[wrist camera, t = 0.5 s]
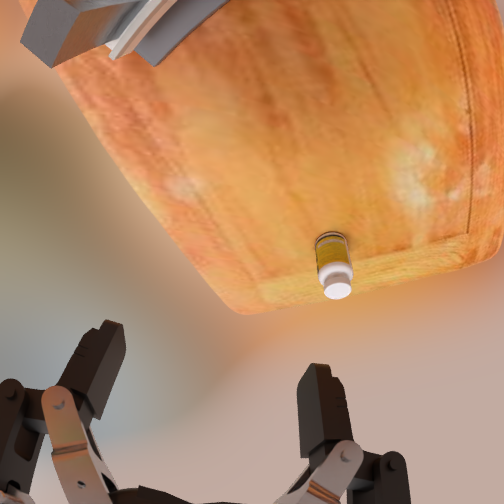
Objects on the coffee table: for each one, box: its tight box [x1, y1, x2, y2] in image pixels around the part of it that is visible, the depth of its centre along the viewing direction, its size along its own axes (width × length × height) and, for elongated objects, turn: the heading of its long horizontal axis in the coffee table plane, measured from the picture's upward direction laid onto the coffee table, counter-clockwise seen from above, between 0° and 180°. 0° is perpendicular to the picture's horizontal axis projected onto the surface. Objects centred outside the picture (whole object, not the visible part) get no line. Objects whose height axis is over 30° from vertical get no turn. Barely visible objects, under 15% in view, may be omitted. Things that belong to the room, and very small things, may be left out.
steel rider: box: [20, 0, 149, 68], centre depth 12 cm, size 5×5×9 cm
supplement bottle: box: [315, 232, 353, 299], centre depth 42 cm, size 5×5×10 cm
